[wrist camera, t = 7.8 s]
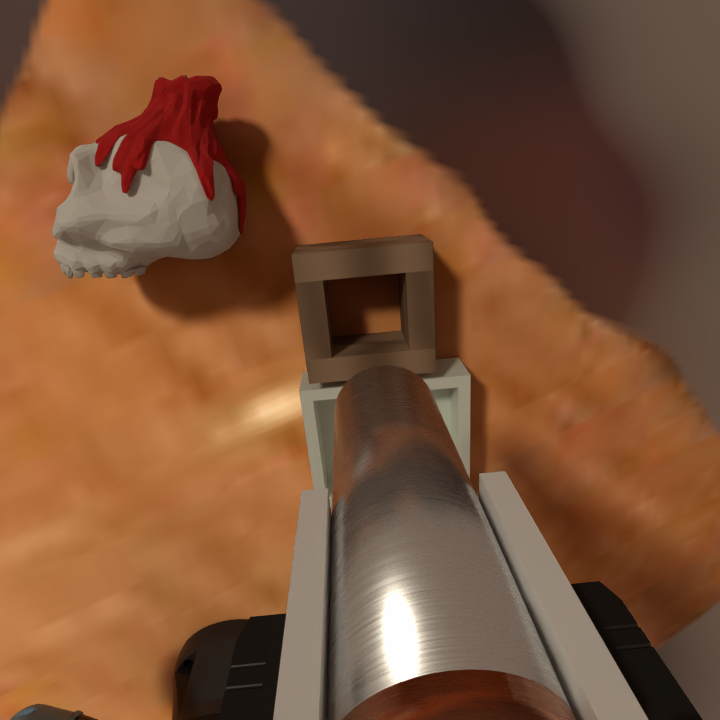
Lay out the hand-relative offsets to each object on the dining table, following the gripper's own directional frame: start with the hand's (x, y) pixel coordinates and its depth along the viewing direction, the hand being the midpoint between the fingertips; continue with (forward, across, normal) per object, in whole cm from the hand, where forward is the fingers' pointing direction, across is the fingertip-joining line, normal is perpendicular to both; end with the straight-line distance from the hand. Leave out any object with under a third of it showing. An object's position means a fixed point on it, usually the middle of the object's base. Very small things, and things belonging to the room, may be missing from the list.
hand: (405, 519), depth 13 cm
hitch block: (+26, 0, 0) cm, 26 cm away
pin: (+7, 0, 0) cm, 7 cm away
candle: (+27, -13, +10) cm, 31 cm away
